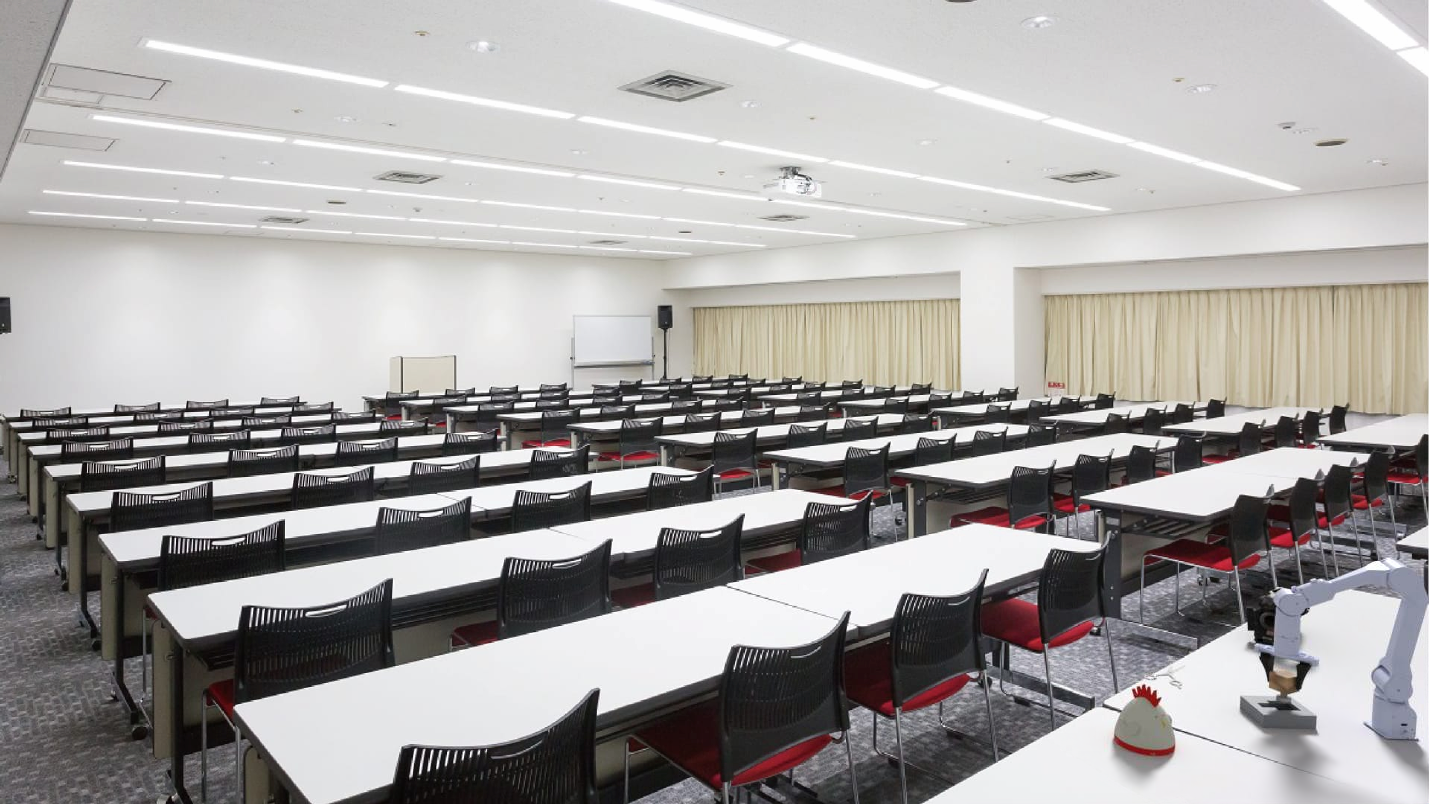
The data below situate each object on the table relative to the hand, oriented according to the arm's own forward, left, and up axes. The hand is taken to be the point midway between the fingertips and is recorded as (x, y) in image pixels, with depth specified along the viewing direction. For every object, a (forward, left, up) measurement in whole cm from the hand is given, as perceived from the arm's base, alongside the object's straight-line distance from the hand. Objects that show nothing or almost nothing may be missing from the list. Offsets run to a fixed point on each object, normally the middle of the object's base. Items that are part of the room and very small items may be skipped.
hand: (1284, 685), depth 240 cm
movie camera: (+60, -31, -9) cm, 69 cm away
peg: (0, 0, -4) cm, 4 cm away
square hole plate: (0, +1, -9) cm, 9 cm away
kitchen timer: (-16, +42, -9) cm, 46 cm away
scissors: (+29, +17, -10) cm, 35 cm away
